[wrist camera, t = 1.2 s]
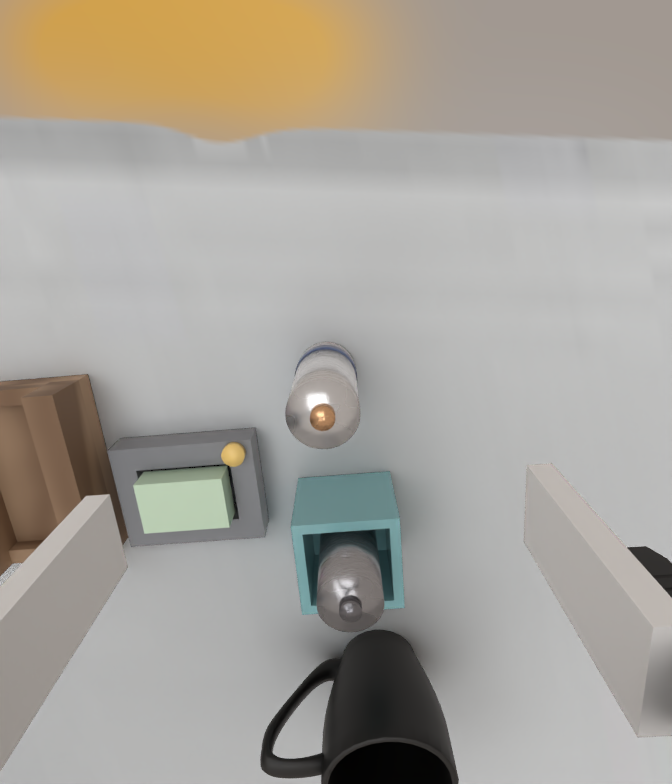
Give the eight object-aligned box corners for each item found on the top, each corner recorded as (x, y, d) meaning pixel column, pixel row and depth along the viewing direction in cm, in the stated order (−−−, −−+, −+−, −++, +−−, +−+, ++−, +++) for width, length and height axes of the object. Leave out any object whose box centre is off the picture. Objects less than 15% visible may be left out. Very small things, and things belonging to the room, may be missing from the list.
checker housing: (142, 529, 35) (127, 552, 33) (120, 438, 33) (103, 455, 31) (269, 520, 35) (263, 542, 33) (255, 427, 33) (248, 443, 31)
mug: (280, 605, 38) (261, 725, 28) (439, 620, 38) (471, 744, 29) (272, 689, 40) (253, 824, 31) (422, 703, 40) (446, 840, 31)
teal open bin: (307, 555, 36) (302, 614, 31) (298, 478, 34) (290, 526, 29) (394, 549, 36) (404, 607, 30) (389, 471, 34) (399, 518, 28)
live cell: (300, 399, 32) (287, 458, 24) (294, 343, 31) (278, 385, 23) (357, 395, 32) (364, 452, 24) (353, 338, 31) (358, 378, 23)
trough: (6, 545, 36) (-35, 585, 32) (-48, 385, 32) (-102, 407, 28) (128, 536, 36) (101, 575, 32) (88, 374, 32) (52, 395, 28)
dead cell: (323, 545, 35) (319, 642, 27) (318, 499, 34) (312, 586, 26) (375, 541, 35) (387, 638, 27) (372, 495, 34) (383, 581, 25)
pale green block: (154, 518, 33) (144, 533, 32) (143, 471, 32) (133, 485, 31) (235, 512, 33) (229, 527, 31) (227, 465, 32) (221, 478, 30)
